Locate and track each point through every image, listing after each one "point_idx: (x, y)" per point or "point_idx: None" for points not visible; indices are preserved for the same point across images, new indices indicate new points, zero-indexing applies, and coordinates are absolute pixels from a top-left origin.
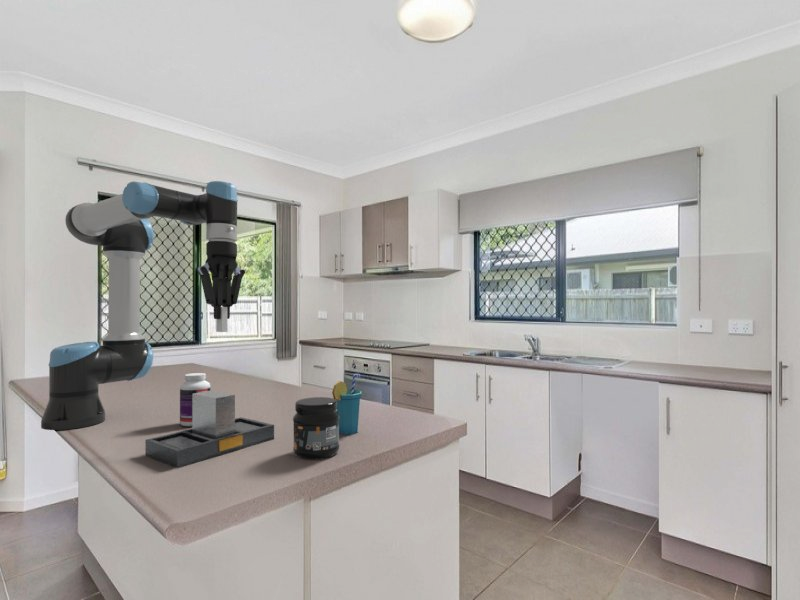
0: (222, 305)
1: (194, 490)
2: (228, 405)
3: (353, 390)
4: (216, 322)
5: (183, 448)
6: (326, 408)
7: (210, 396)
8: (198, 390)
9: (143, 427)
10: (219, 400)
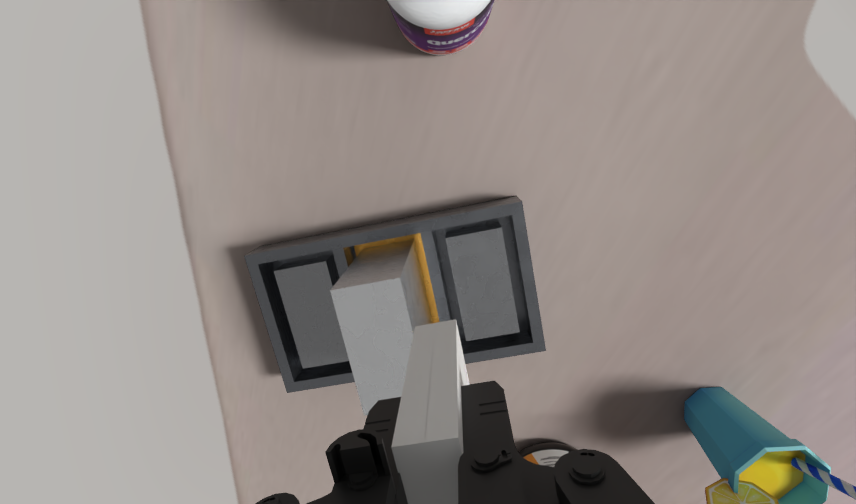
0: (463, 467)
1: (298, 488)
2: None
3: (818, 478)
4: (409, 361)
5: (301, 384)
6: None
7: (360, 378)
8: (432, 29)
9: None
10: None
